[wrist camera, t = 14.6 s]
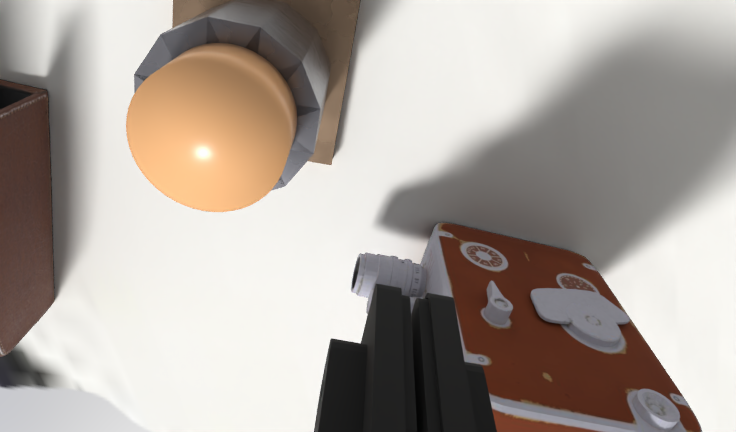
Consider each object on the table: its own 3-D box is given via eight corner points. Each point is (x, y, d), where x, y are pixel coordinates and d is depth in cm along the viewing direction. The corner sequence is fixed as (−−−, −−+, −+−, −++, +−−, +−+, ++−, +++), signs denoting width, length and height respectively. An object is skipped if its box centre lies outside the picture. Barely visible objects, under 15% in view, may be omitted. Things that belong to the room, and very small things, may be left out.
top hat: (361, -5, 36) (359, 21, 26) (332, 159, 42) (322, 230, 32) (179, -42, 35) (107, -31, 25) (175, 130, 41) (113, 196, 31)
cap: (311, 47, 30) (297, 78, 24) (294, 168, 33) (278, 223, 27) (175, 20, 29) (124, 44, 23) (172, 146, 32) (127, 198, 26)
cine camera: (373, 187, 43) (378, 368, 25) (595, 240, 45) (742, 438, 28) (345, 279, 47) (334, 489, 29) (551, 323, 50) (654, 541, 32)
